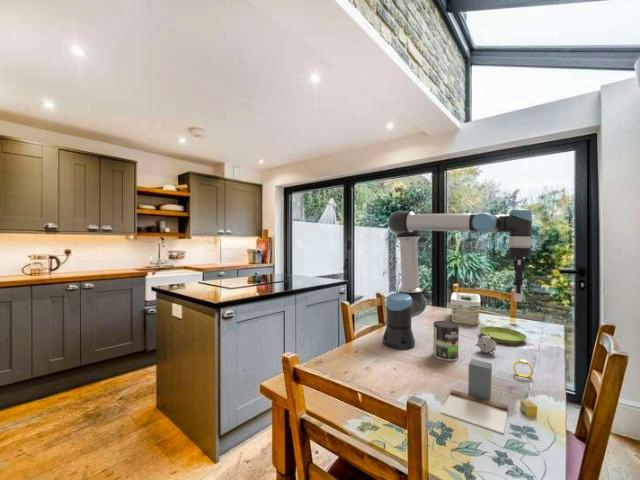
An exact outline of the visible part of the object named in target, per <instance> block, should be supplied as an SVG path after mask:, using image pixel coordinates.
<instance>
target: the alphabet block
mask: <svg viewBox="0 0 640 480" xmlns="http://www.w3.org/2000/svg"><path fill="white" fill-rule="evenodd" d="M519 402H520V404H519V405H520V406H519V410H520V411H522V413H524V414H525V415H526V416H527V417H538V405H536V404H534V403H533V402H532V401H531V400H528V399H527V400H524V399H523V400H522V399H521V400H520V401H519Z"/></svg>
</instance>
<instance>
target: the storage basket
mask: <svg viewBox="0 0 640 480" xmlns="http://www.w3.org/2000/svg"><path fill="white" fill-rule="evenodd" d="M462 298H468V299H470V300H466V299H462ZM450 305H451V320H452V321H451V322H453V323H456V324H464V325H469V326H470V325H471V326H478V325H479V323H480V307H481V295H480V294H478V293H469V292H452V293H451V297H450Z"/></svg>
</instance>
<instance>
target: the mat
mask: <svg viewBox="0 0 640 480" xmlns="http://www.w3.org/2000/svg"><path fill="white" fill-rule="evenodd" d="M440 414H442V415H444V416H447V417H451V418H454V419H457V420H460V421H463V422H465V423H469V424H472V425H475V426H477V427H480V428H483V429H485V430H489V431H493V432H495V433H498V434H502V435H505V429H506V425H507V424H506V423H507V418H508V412H507V411H504V410H501V409H497V408H494V407H491V406H487V405H484V404H481V403H477V402H474V401H471V400H467V399H464V398H460V397H457V396H454V395H450V394H449V396H448V398H447V400H446V401H445V404H444V405H443V407H442V409H441V411H440Z"/></svg>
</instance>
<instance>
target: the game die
mask: <svg viewBox="0 0 640 480" xmlns="http://www.w3.org/2000/svg"><path fill="white" fill-rule="evenodd" d="M477 340H478V341H477V344H475V345H474V346H476V347H478V348H479V349H480V351H482V352H484V355H486V354H489V353H493V354H495V352H494V351H496V350H497V349H496V346H497V344H499V343H498V342H495V341H494V340H493V338H491V337H490V336H489V334H488V335H487V336H483V335H482V334H479V337H478V338H477Z"/></svg>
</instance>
